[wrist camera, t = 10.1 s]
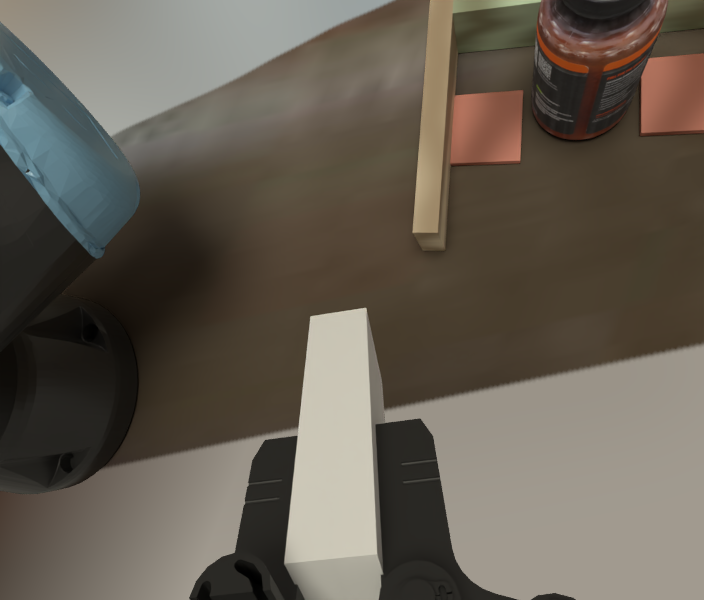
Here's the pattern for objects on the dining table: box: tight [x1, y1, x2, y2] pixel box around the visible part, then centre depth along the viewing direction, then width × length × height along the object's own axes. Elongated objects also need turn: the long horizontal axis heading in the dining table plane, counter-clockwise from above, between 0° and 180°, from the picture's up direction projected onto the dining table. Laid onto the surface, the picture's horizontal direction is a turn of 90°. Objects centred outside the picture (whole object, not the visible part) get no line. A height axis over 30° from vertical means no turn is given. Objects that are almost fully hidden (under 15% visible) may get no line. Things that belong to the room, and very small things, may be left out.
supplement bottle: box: [532, 0, 668, 140], centre depth 27 cm, size 6×6×11 cm
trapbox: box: [413, 0, 704, 251], centre depth 31 cm, size 19×16×4 cm
